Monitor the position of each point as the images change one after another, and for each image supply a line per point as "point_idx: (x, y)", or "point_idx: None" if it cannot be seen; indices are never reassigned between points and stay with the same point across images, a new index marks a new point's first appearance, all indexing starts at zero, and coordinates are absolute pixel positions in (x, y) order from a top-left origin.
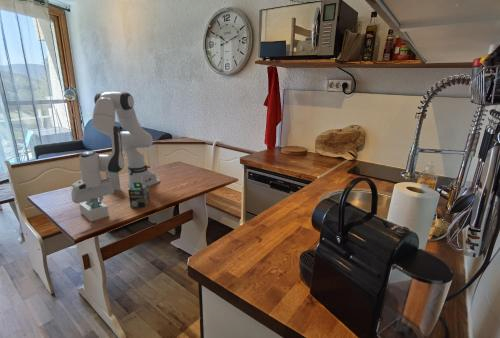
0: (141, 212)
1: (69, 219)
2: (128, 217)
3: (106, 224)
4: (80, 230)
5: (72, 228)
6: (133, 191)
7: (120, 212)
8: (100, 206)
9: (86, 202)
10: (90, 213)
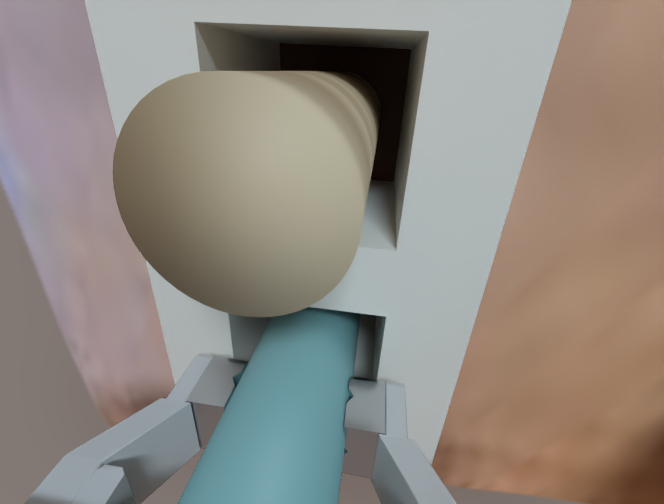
0: (641, 500)
1: (62, 85)
2: (496, 479)
3: None
4: (136, 374)
5: (86, 306)
6: None
7: (545, 373)
8: (376, 368)
9: (242, 14)
10: None
